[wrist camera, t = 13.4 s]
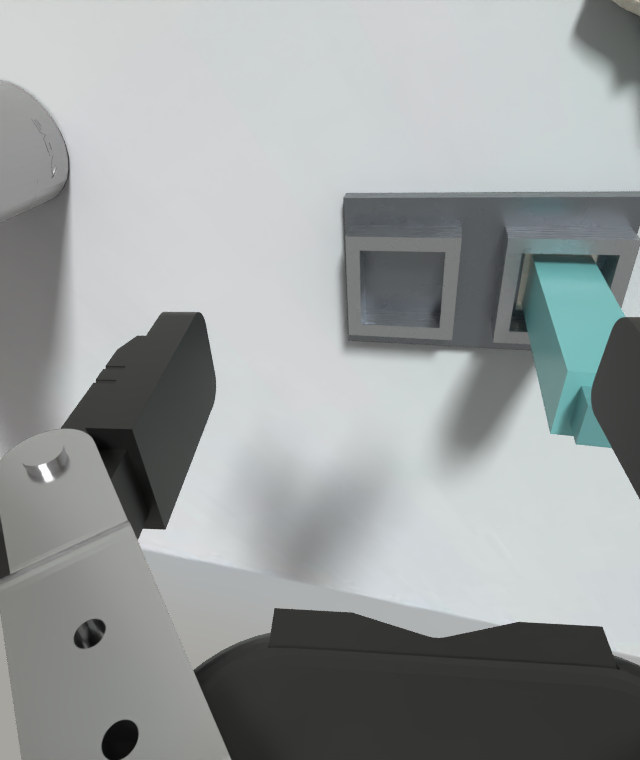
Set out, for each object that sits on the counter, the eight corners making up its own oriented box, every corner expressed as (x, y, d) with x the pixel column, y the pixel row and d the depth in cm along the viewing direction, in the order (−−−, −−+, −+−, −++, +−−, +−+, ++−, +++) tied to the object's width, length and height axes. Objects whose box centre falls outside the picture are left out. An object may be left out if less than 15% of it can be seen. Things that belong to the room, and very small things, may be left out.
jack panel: (350, 333, 45) (343, 355, 42) (346, 193, 38) (337, 208, 36) (598, 346, 41) (609, 371, 38) (642, 191, 34) (660, 208, 31)
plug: (521, 305, 39) (555, 454, 26) (531, 254, 37) (573, 390, 24) (578, 308, 38) (642, 463, 25) (592, 257, 36) (670, 398, 23)
